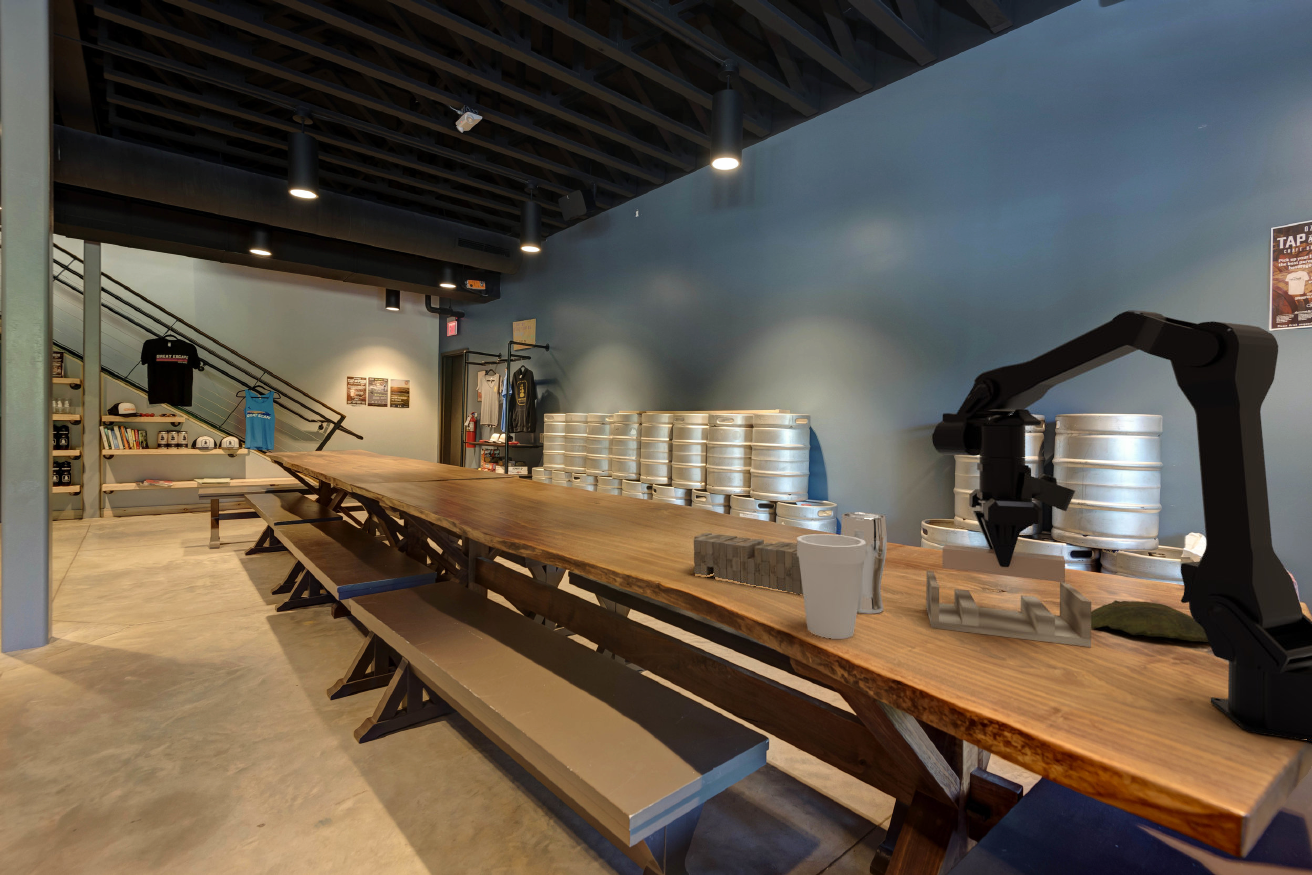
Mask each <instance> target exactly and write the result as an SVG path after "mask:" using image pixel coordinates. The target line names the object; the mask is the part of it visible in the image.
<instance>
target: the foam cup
mask: <svg viewBox="0 0 1312 875" xmlns="http://www.w3.org/2000/svg"><path fill="white" fill-rule="evenodd" d="M796 542H797V556H798V557H799V563H800V572H801V580H802V588H803V603H804V611H805V619H806V626H807V631H808V630H809V631H811V632H812V633H814V634H816V635H819V636H821V637H820V638H823V637H825V638H824V639H829V638H831V640H844V639H850V638H851V637H852V636H854V631H855V627H856V621H857V615H858V613H857V608H858V601H859V594H860V587H861V581H862V574H863V567H864V561H865V560H866V542H865V541H864V540H862V539H859V538H855V537H849V536H843V535H841V534H831V533H830V534H827V533H825V534H824V533H823V534H822V533H812V534H804V535H800V536H797V537H796ZM809 631H808V632H809ZM812 633H811V634H812ZM816 635H815V636H816ZM819 636H818V637H819Z"/></svg>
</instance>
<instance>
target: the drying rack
mask: <svg viewBox="0 0 1312 875" xmlns="http://www.w3.org/2000/svg"><path fill="white" fill-rule="evenodd" d="M925 588H926V595H925V596H926V599H925V600H926V603H925V604H926V605H925V607H926V611H927V612H926V613H927V616H928V620H929V623H930V628H931V629H940V630H946V631H956V632H964V633H970V634H971V633H973V634H979V635H987V636H996V637H1003V638H1004V637H1005V638H1014V639H1020V640H1021V639H1022V640H1029V641H1036V642H1037V641H1039V642H1047V643H1055V644H1061V645H1071V646H1080V647H1087V648H1091V647H1092V629H1091V612H1092V601H1091V600H1090V599H1089V598H1087V597H1086V596H1085V595H1083V593H1081V592H1080V591H1078V590H1077V589H1076V588H1075V587H1074V586H1072V585H1071V584H1070V583H1069V582H1065V583H1062V582H1059V615H1056V614H1054V613H1052V612H1051V611H1050V610H1049V609H1048V608H1047V607H1046V605H1045V604H1044V603H1043V602H1041V601H1040V599H1039V598H1038V597H1037V596H1034V595H1033V596H1031V595H1020V611H1017V610H1008V609H1007V610H1006V609H1002V608H1001V609H1000V608H990V607H981V606H978V604H977V603H976V600H975V599H974V598H973V595H972V594H971V592H970V590H969V589H959V588H954V589H953V590H954V594H953V595H954V596H953V597H954V598H953V601H954V602H953V603H954V604H953V603H944V602H943V603H941V602H940V586H939V583H938V580H937V577H936V575H935V571H931V570H926V587H925Z"/></svg>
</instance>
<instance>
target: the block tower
mask: <svg viewBox="0 0 1312 875" xmlns="http://www.w3.org/2000/svg"><path fill="white" fill-rule="evenodd" d="M693 551H694V552H693V564H694V566H693V571H694V572H693V574H694V573H695V574H701V575H706V576H707V575H710V574H713V573H714V576H713V578H714V577H718V578H722V579H728V580H733V581H737V582H740V583H746V584H750V585H756V586H763V587H768V588H772V589H778V590H782V591H787V592H793V593H796V594H802V595H803V588H802V580H801V572H800V563H799V557H798V556H797V543H796V542H785V541H777V542H774V543H771V542H766V543H765V540H764V539H761V538H759V539H757V538H748V537H741V536H740V537H738V536H736V535H726V534H715V533H710V532H704V533H701V534H698V535H694V538H693ZM796 594H795V595H796ZM802 595H801V596H802Z"/></svg>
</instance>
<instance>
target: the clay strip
mask: <svg viewBox="0 0 1312 875" xmlns="http://www.w3.org/2000/svg"><path fill="white" fill-rule="evenodd" d="M941 558H942V563H941V564H942V569H945V570H946V569H947V570H954V571H963V572H964V571H965V572H973V573H979V574H981V573H982V574H987V575H988V574H989V575H995V576H996V575H997V576H1005V577H1013V578H1023V579H1030V580H1039V581H1045V582H1046V581H1047V582H1055V583H1060V582H1061V583H1066V559H1065V557H1064V555H1054V554H1045V553H1044V554H1043V553H1034V552H1023V551H1015V550H1014V552H1013V556H1012V559H1011V562H1010V565H1009V567H1001V566H1000V565H999V563H998V560H997V558H996V555H995V553H994V550H993V549H990V548H984V547H976V546H975V547H974V546H973V547H972V546H963V545H953V544H952V545H951V544H945V545H944V546H943V547H942V557H941Z"/></svg>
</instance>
